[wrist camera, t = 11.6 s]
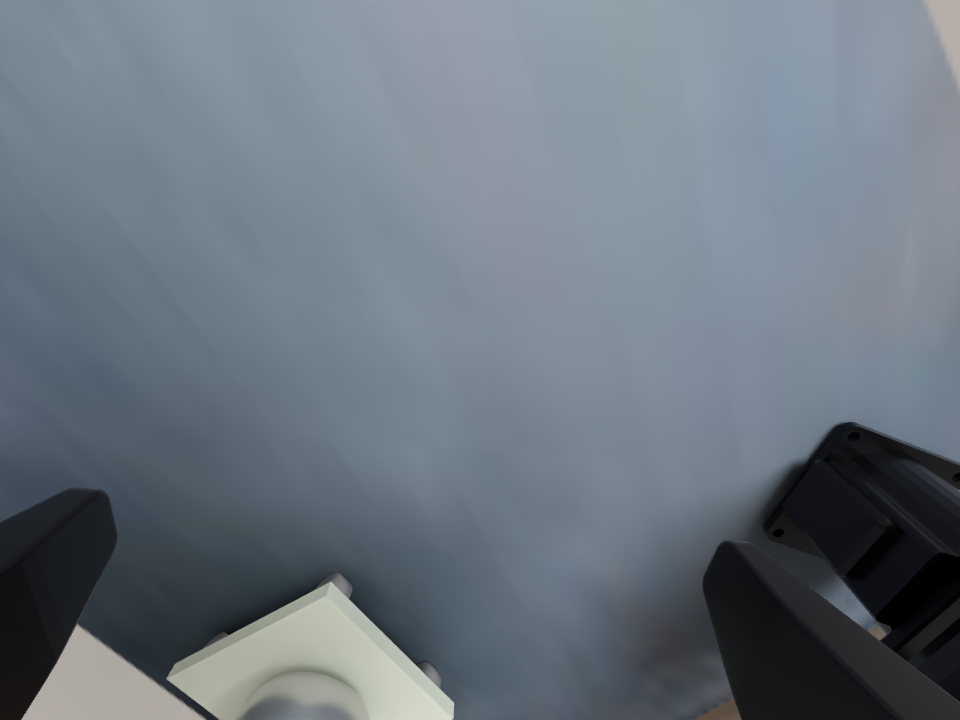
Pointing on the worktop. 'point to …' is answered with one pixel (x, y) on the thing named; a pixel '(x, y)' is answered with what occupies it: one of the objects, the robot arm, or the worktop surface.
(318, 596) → the plate
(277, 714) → the plastic bottle
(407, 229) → the worktop surface
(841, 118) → the worktop surface
